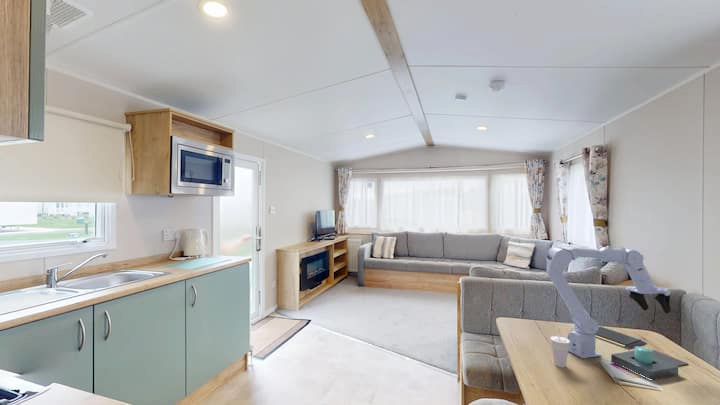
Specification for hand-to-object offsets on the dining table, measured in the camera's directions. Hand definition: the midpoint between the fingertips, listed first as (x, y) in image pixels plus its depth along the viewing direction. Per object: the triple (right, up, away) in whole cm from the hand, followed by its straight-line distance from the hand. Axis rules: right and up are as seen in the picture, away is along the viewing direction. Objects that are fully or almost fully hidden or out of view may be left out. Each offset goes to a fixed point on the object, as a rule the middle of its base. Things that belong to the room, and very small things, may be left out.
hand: (656, 310), depth 124 cm
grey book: (-1, -20, +21) cm, 29 cm away
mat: (+2, -19, +1) cm, 20 cm away
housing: (-11, -19, -6) cm, 23 cm away
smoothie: (-40, -20, -4) cm, 45 cm away
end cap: (-11, -19, -6) cm, 23 cm away
